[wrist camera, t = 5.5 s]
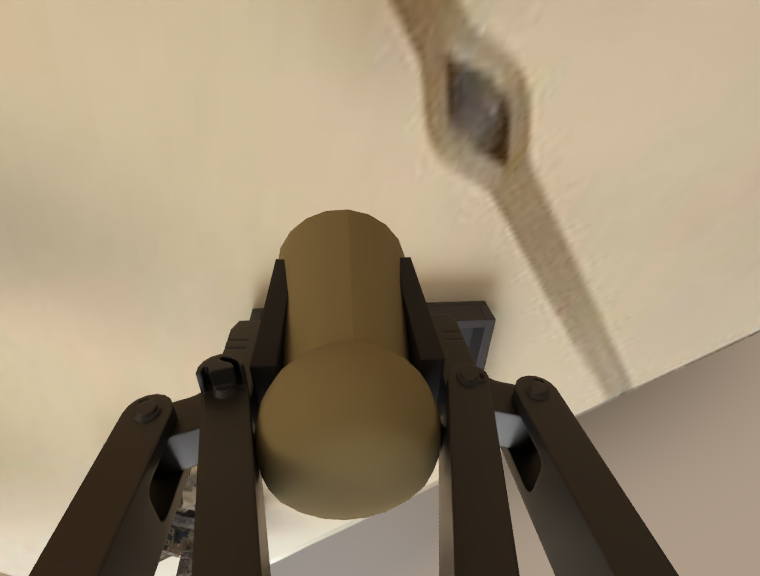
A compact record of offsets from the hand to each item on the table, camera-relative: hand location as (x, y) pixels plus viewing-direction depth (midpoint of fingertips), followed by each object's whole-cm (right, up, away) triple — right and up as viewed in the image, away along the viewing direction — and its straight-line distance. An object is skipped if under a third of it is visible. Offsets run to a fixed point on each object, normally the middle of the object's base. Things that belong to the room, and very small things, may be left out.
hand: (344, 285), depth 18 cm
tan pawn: (0, +1, +1) cm, 2 cm away
